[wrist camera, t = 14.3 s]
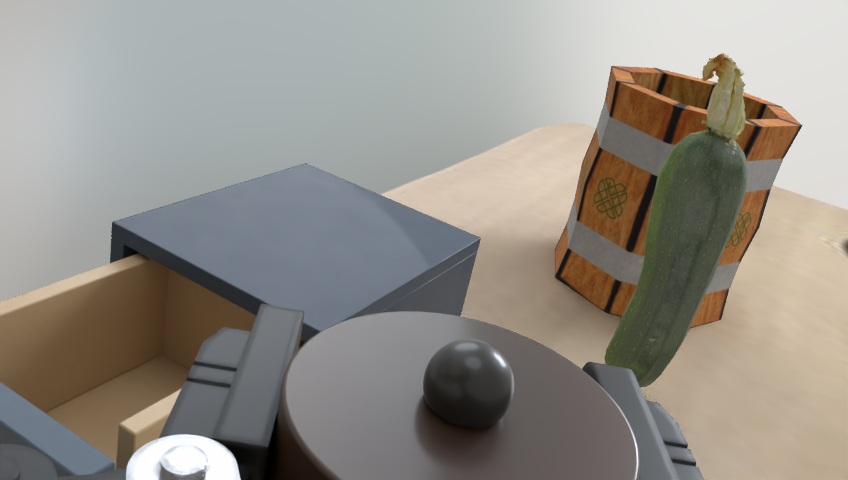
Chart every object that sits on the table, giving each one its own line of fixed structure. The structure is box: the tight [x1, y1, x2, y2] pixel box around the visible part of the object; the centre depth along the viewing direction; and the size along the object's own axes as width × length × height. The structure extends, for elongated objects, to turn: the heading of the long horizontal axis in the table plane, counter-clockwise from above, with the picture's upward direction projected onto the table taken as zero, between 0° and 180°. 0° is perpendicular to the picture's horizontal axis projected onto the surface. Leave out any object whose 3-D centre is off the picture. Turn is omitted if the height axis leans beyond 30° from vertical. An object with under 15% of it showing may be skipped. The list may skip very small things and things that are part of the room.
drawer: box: [0, 253, 304, 477], centre depth 29 cm, size 17×10×7 cm, turn 149°
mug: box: [555, 66, 802, 328], centre depth 61 cm, size 20×14×15 cm
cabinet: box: [110, 163, 481, 345], centre depth 40 cm, size 14×12×9 cm
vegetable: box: [605, 53, 748, 388], centre depth 43 cm, size 4×4×20 cm
